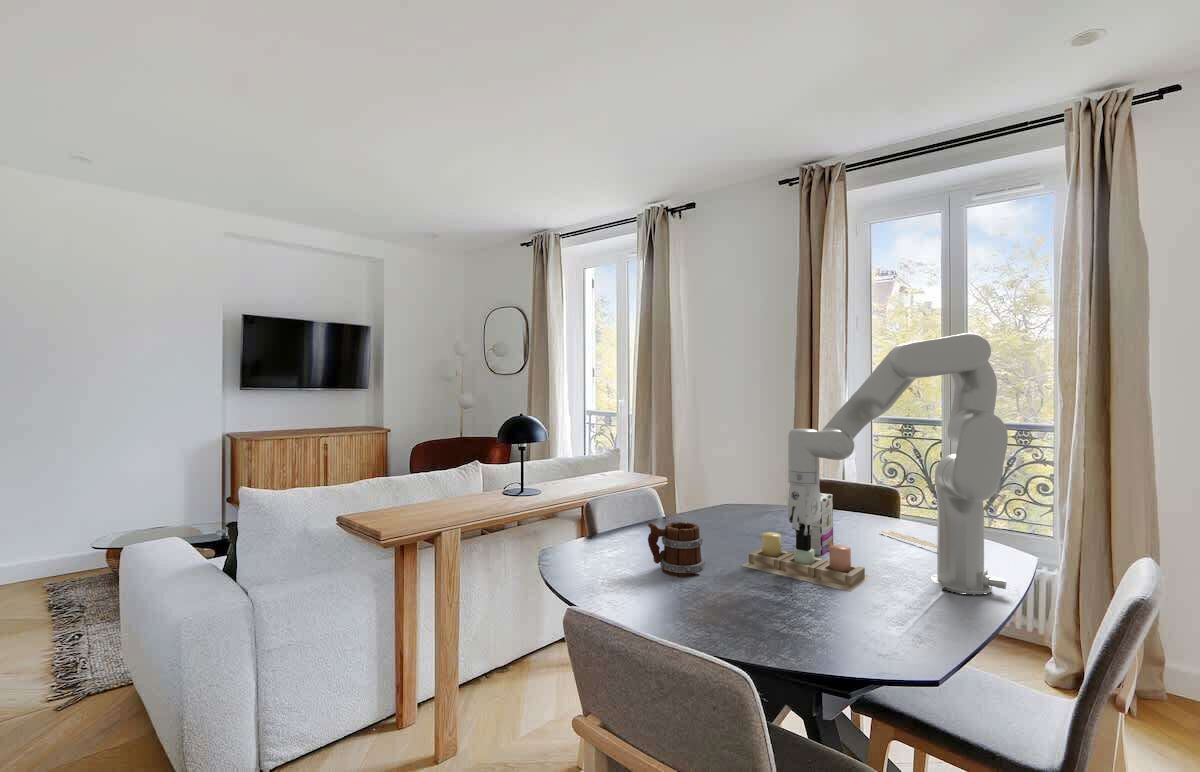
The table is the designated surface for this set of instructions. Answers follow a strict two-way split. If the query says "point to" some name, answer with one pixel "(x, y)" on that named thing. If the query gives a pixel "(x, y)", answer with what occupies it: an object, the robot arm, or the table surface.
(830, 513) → the candy bar box
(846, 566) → the salmon orange rounded piece
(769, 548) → the mustard button
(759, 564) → the wooden compartment tray
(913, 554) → the table surface
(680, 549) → the mug
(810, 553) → the sage button
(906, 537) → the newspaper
